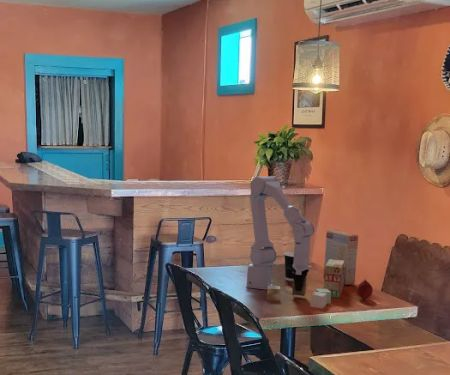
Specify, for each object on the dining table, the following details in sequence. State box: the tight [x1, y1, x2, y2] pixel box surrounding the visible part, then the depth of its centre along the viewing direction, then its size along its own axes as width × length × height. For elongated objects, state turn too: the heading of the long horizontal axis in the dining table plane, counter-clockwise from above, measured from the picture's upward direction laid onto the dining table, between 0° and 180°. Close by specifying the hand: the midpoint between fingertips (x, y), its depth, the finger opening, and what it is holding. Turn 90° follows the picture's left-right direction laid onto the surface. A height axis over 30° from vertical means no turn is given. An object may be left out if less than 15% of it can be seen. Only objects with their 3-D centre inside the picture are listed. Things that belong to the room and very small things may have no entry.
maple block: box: [266, 285, 281, 302], centre depth 229 cm, size 4×4×4 cm
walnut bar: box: [291, 276, 308, 297], centre depth 231 cm, size 4×4×6 cm
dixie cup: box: [283, 251, 295, 282], centre depth 259 cm, size 8×8×11 cm
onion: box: [356, 278, 373, 301], centre depth 234 cm, size 6×6×8 cm
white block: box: [309, 291, 327, 309], centre depth 223 cm, size 4×4×4 cm
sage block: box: [314, 288, 332, 305], centre depth 228 cm, size 4×4×4 cm
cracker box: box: [323, 229, 359, 286], centre depth 259 cm, size 14×6×21 cm, turn 30°
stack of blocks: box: [323, 259, 345, 299], centre depth 245 cm, size 21×6×12 cm, turn 164°
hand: (299, 289), depth 231 cm, fingers closed on walnut bar, 4 cm apart
